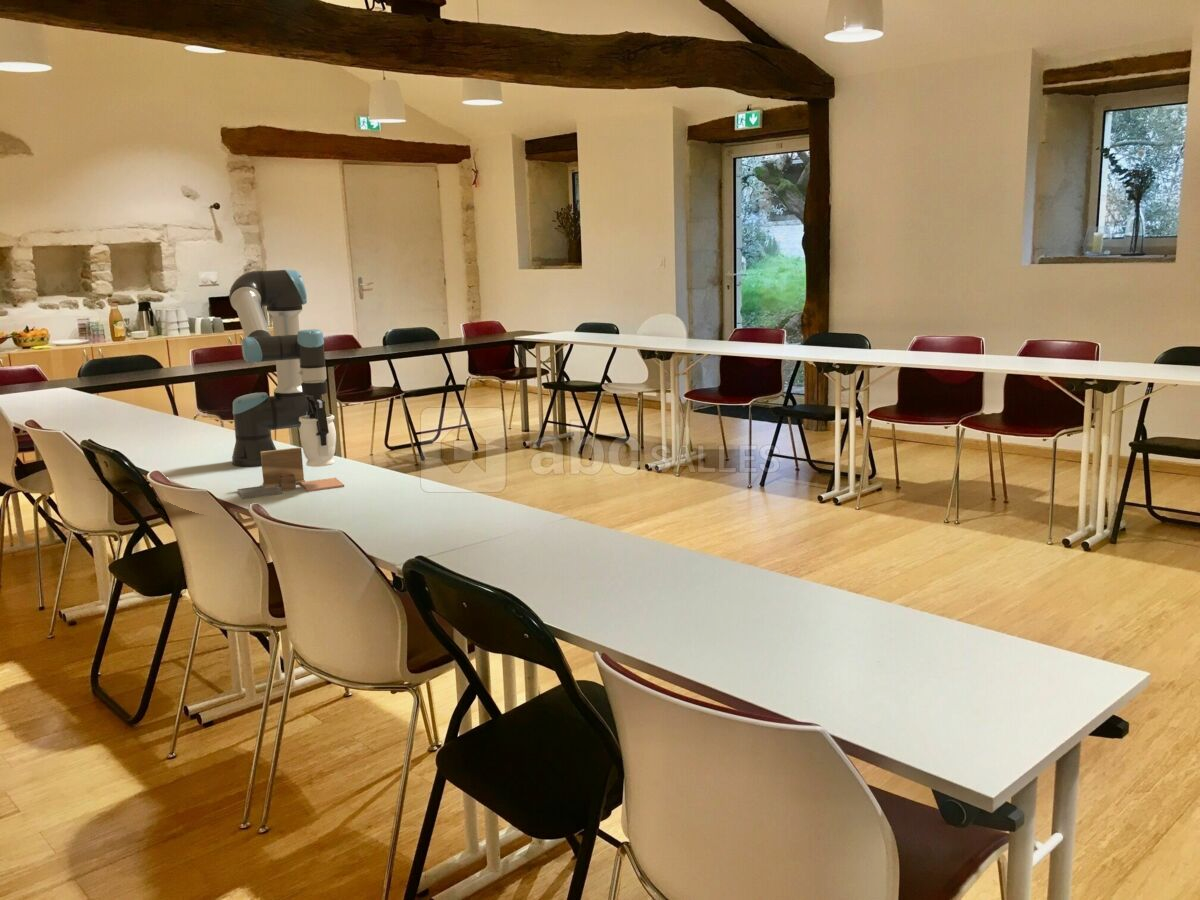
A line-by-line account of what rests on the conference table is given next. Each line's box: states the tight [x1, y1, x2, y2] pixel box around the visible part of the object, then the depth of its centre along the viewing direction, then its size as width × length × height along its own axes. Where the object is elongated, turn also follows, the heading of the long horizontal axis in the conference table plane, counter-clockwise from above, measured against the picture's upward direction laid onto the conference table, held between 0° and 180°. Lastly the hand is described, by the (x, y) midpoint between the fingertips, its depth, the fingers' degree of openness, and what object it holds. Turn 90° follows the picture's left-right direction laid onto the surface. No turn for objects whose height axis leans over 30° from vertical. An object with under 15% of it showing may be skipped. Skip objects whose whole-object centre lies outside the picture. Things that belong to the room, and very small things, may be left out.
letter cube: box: [279, 473, 297, 492], centre depth 305 cm, size 4×4×4 cm
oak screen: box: [261, 446, 306, 488], centre depth 310 cm, size 5×12×11 cm, turn 118°
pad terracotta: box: [299, 477, 345, 492], centre depth 309 cm, size 11×11×1 cm
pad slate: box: [236, 485, 283, 500], centre depth 301 cm, size 11×11×1 cm
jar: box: [299, 413, 337, 468], centre depth 306 cm, size 11×10×15 cm
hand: (319, 452), depth 306 cm, fingers closed on jar, 10 cm apart
